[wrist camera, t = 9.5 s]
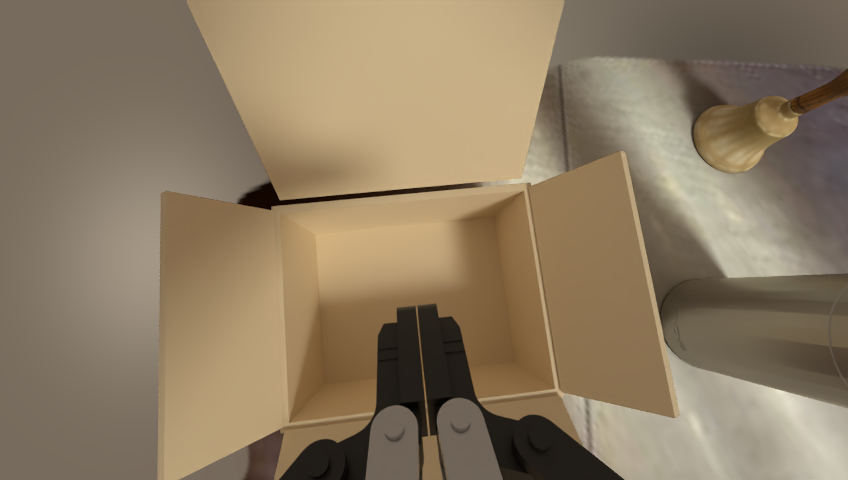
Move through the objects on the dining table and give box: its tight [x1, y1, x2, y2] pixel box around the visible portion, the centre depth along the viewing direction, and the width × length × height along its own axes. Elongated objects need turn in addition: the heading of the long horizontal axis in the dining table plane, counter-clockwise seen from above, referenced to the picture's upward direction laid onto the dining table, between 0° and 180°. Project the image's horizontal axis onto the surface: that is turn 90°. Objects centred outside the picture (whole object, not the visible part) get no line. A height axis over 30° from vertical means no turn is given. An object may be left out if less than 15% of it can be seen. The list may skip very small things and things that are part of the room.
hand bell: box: [693, 69, 848, 173], centre depth 30 cm, size 8×8×16 cm
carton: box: [158, 151, 680, 480], centre depth 23 cm, size 28×26×20 cm
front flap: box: [186, 0, 565, 200], centre depth 20 cm, size 18×14×1 cm
